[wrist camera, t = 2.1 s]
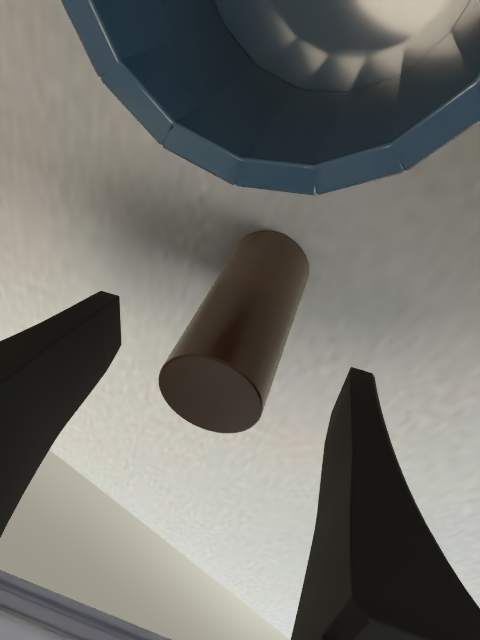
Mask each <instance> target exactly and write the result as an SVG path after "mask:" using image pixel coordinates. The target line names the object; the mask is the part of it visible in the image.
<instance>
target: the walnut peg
mask: <svg viewBox="0 0 480 640" xmlns="http://www.w3.org/2000/svg"><path fill="white" fill-rule="evenodd" d="M308 274H309V265H308V261H307V258H306V255H305V254H304V252H303V250H302V249H301V248H300V246H299V245H298V244H297V243H296V242H294V241H293V240H292V239H290V238H289V237H287V236H285V235H283V234H280V233H277V232H271V231H261V232H256V233H253V234H250V235H248V236H247V237H245V238H244V239H243V240H241V241H240V243H239V244H238V245H237V247H236V248H235V250H234V252H233V253H232V255H231V257H230V258H229V260H228V261H227V263H226V265H225V266H224V268H223V270H222V271H221V273H220V274H219V276H218V278H217V279H216V281H215V282H214V284H213V286H212V287H211V289H210V291H209V292H208V294H207V295H206V297H205V299H204V300H203V302H202V304H201V305H200V307H199V308H198V310H197V312H196V313H195V315H194V317H193V318H192V320H191V321H190V323H189V325H188V326H187V328H186V330H185V331H184V333H183V334H182V336H181V338H180V339H179V341H178V343H177V344H176V346H175V347H174V349H173V351H172V352H171V354H170V355H169V357H168V359H167V360H166V362H165V364H164V365H163V367H162V369H161V371H160V374H159V387H160V391H161V393H162V395H163V397H164V399H165V401H166V402H167V403H168V405H169V406H170V407H171V408H172V409H173V410H174V411H175V412H176V413H177V414H178V415H179V416H181V417H182V418H183V419H185V420H186V421H188V422H190V423H192V424H193V425H196V426H198V427H200V428H203V429H206V430H209V431H213V432H218V433H237V432H242V431H245V430H247V429H249V428H251V427H252V426H254V425H255V424H256V423H257V422H258V421H259V419H260V417H261V415H262V412H263V409H264V406H265V403H266V400H267V397H268V394H269V391H270V388H271V385H272V382H273V379H274V376H275V374H276V371H277V368H278V365H279V362H280V359H281V356H282V353H283V350H284V347H285V344H286V341H287V338H288V335H289V332H290V329H291V326H292V323H293V320H294V317H295V314H296V311H297V308H298V305H299V302H300V299H301V296H302V293H303V290H304V288H305V285H306V282H307V279H308Z"/></svg>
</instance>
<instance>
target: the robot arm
mask: <svg viewBox="0 0 480 640" xmlns="http://www.w3.org/2000/svg"><path fill="white" fill-rule="evenodd" d="M120 346H121V324H120V302H119V296H117V295H113V294H110V293H107V292H103V291H100V292H98V293H96V294H94V295H92V296H90V297H88V298H86V299H85V300H83V301H81V302H79V303H77V304H75V305H73V306H72V307H70V308H68V309H66V310H64V311H62V312H60V313H58V314H57V315H55V316H53V317H51V318H49V319H47V320H45V321H43V322H41V323H39V324H37V325H35V326H33V327H31V328H28V329H26V330H24V331H22V332H20V333H18V334H16V335H13V336H11V337H9V338H7V339H4V340H2V341H0V537H1V535H2V533H3V531H4V529H5V527H6V525H7V523H8V521H9V519H10V518H11V516H12V514H13V512H14V510H15V508H16V506H17V504H18V503H19V501H20V499H21V497H22V495H23V494H24V492H25V490H26V488H27V486H28V485H29V483H30V481H31V480H32V478H33V476H34V474H35V473H36V471H37V469H38V467H39V466H40V464H41V462H42V461H43V459H44V457H45V456H46V454H47V452H48V451H49V449H50V448H51V446H52V444H53V443H54V441H55V439H56V438H57V436H58V435H59V433H60V432H61V431H62V429H63V428H64V426H65V425H66V424H67V422H68V421H69V420H70V418H71V417H72V416H73V415H74V413H75V412H76V411H77V409H78V408H79V407H80V405H81V404H82V403H83V402H84V400H85V399H86V398H87V396H88V395H89V394H90V392H91V391H92V390H93V388H94V387H95V386H96V384H97V383H98V382H99V380H100V379H101V378H102V376H103V375H104V374H105V372H106V371H107V369H108V368H109V366H110V364H111V362H112V361H113V359H114V357H115V355H116V354H117V352H118V350H119V348H120ZM0 640H171V639H168V638H166V637H163V636H161V635H159V634H156V633H154V632H151V631H149V630H146V629H144V628H141V627H139V626H136V625H134V624H131V623H129V622H127V621H124V620H122V619H119V618H117V617H114V616H112V615H109V614H107V613H105V612H102V611H99V610H97V609H95V608H92V607H90V606H87V605H85V604H82V603H80V602H77V601H75V600H73V599H70V598H67V597H65V596H63V595H60V594H58V593H55V592H53V591H50V590H48V589H46V588H43V587H40V586H38V585H35V584H33V583H30V582H28V581H26V580H23V579H21V578H18V577H16V576H14V575H11V574H9V573H6V572H4V571H1V570H0ZM291 640H480V608H479V607H478V606H477V604H476V603H475V601H474V600H473V599H472V597H471V596H470V595H469V593H468V592H467V590H466V589H465V587H464V586H463V584H462V583H461V581H460V580H459V578H458V577H457V575H456V573H455V572H454V570H453V569H452V567H451V566H450V564H449V563H448V561H447V559H446V557H445V556H444V554H443V552H442V551H441V549H440V547H439V545H438V544H437V542H436V540H435V538H434V537H433V535H432V533H431V531H430V530H429V528H428V526H427V524H426V523H425V521H424V519H423V517H422V515H421V513H420V511H419V509H418V507H417V505H416V503H415V501H414V498H413V496H412V494H411V492H410V490H409V488H408V485H407V483H406V481H405V478H404V476H403V473H402V471H401V468H400V466H399V463H398V461H397V458H396V455H395V452H394V450H393V447H392V444H391V441H390V438H389V434H388V431H387V428H386V425H385V421H384V418H383V414H382V410H381V406H380V402H379V398H378V393H377V388H376V383H375V377H374V376H373V374H372V373H369V372H366V371H363V370H359V369H356V368H353V367H351V368H350V370H349V373H348V375H347V378H346V380H345V382H344V385H343V387H342V389H341V392H340V394H339V396H338V399H337V401H336V403H335V406H334V408H333V410H332V414H331V418H330V422H329V427H328V431H327V436H326V440H325V446H324V455H323V464H322V473H321V482H320V492H319V501H318V511H317V518H316V525H315V531H314V536H313V541H312V546H311V551H310V555H309V560H308V565H307V570H306V574H305V579H304V584H303V588H302V593H301V597H300V602H299V606H298V611H297V615H296V620H295V624H294V628H293V633H292V637H291Z"/></svg>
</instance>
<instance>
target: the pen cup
mask: <svg viewBox="0 0 480 640" xmlns="http://www.w3.org/2000/svg"><path fill="white" fill-rule="evenodd" d="M61 2H62V4H63V6H64V8H65V10H66V12H67V14H68V16H69V18H70V20H71V22H72V24H73V26H74V28H75V30H76V32H77V34H78V36H79V38H80V40H81V42H82V45H83V47H84V49H85V51H86V53H87V55H88V57H89V59H90V61H91V63H92V65H93V67H94V69H95V71H96V73H97V75H98V76H99V77H101V80H102V82H103V83H104V84H105V85H106V86H107V87H108V89H109V90H110V91H111V92H112V93H113V94H114V95H115V96H116V97H117V98H118V99H119V100H120V102H121V103H122V104H123V105H124V106H125V107H126V108H127V109H128V110H129V111H130V112H131V114H132V115H133V116H134V117H135V118H136V119H137V120H138V121H139V122H140V123H141V124H142V125H143V127H144V128H145V129H146V130H147V131H148V132H149V133H150V134H151V135H152V136H153V137H154V139H155V140H156V141H157V142H158V143H159V144H161V145H163V147H164V148H165V149H167V150H169V151H170V152H172V153H174V154H176V155H178V156H180V157H182V158H184V159H185V160H187V161H189V162H191V163H193V164H195V165H197V166H198V167H200V168H202V169H204V170H206V171H208V172H210V173H211V174H213V175H215V176H217V177H219V178H221V179H223V180H224V181H226V182H228V183H230V184H232V185H235V184H236V185H237V186H242V187H250V188H258V189H267V190H275V191H283V192H291V193H300V194H308V195H315V194H316V193H317V194H319V195H320V194H324V193H328V192H332V191H336V190H339V189H343V188H347V187H351V186H354V185H358V184H362V183H366V182H370V181H373V180H377V179H381V178H385V177H389V176H392V175H396V174H400V173H402V172H404V170H406V171H407V170H410V169H411V168H412V167H414V166H415V165H417V164H418V163H420V162H421V161H423V160H424V159H425V158H427V157H428V156H430V155H431V154H433V153H434V152H436V151H437V150H438V149H440V148H441V147H443V146H444V145H446V144H447V143H449V142H450V141H451V140H453V139H454V138H456V137H457V136H459V135H460V134H462V133H463V132H464V131H466V130H467V129H469V128H470V127H472V126H473V125H475V124H476V123H477V122H479V121H480V0H61Z"/></svg>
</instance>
